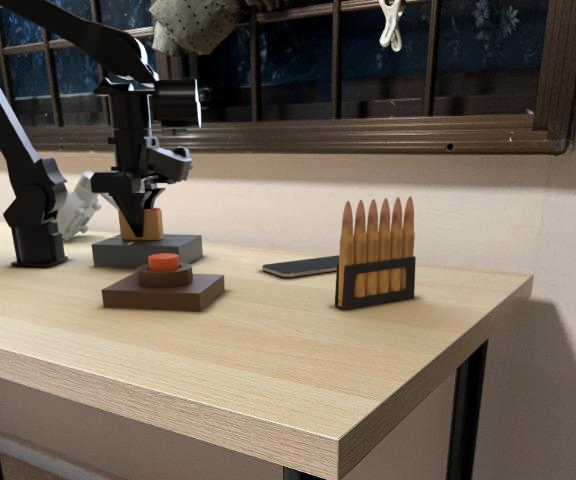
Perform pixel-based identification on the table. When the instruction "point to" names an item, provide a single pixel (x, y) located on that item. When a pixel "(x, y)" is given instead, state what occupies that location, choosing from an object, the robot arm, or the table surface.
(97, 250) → the panel
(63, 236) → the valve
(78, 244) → the table surface
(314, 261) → the smartphone
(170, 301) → the button box
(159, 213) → the block
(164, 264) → the button
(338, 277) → the ammunition clip
